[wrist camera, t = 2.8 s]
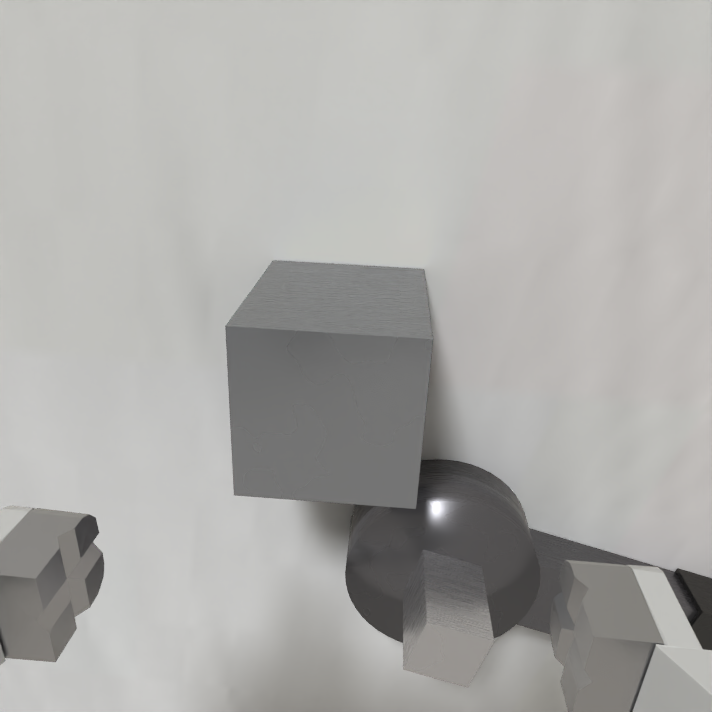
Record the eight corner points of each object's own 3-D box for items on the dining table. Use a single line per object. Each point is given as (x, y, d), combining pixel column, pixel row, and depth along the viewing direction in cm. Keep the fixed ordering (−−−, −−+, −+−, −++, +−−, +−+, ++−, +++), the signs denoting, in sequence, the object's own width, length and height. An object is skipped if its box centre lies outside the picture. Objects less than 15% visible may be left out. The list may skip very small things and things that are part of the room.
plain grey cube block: (412, 403, 22) (416, 508, 16) (274, 394, 22) (233, 495, 17) (424, 269, 20) (432, 339, 14) (273, 260, 20) (225, 326, 15)
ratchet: (742, 691, 27) (824, 837, 21) (329, 572, 25) (311, 697, 20) (841, 577, 24) (964, 715, 19) (382, 437, 23) (376, 542, 17)
